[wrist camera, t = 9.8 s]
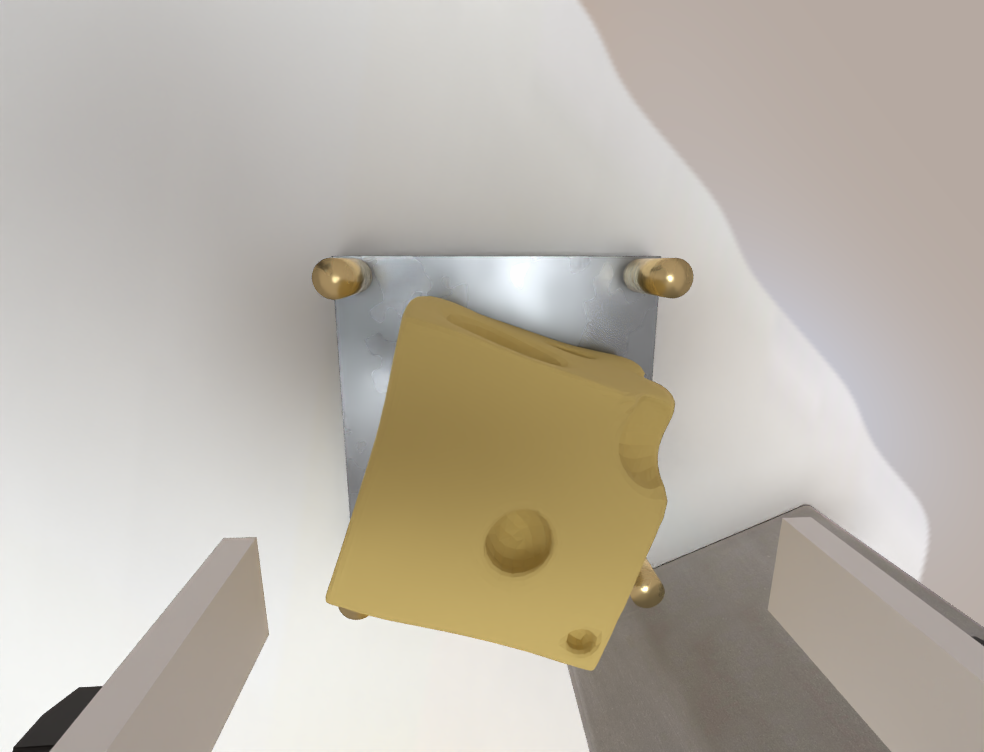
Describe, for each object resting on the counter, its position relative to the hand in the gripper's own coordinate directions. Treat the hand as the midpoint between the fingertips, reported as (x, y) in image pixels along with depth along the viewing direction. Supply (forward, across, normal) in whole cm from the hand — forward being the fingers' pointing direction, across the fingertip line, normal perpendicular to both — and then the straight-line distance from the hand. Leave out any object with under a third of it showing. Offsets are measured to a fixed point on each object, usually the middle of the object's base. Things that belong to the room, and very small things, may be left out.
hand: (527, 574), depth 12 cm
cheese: (+13, 0, 0) cm, 13 cm away
